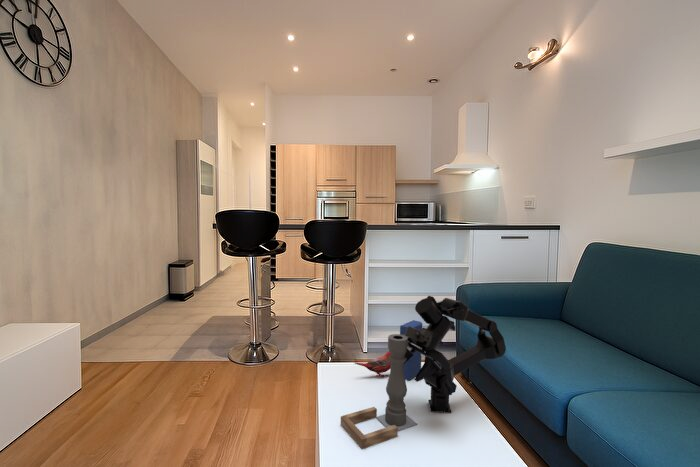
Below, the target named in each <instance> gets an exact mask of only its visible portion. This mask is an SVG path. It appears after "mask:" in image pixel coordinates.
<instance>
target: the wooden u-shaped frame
mask: <svg viewBox="0 0 700 467" xmlns="http://www.w3.org/2000/svg"><path fill="white" fill-rule="evenodd" d="M377 409H378V408H377V407H375V406H372V407H368V408H365V409H361V410H358V411H355V412H351V413H347V414H344V415H340V426H341V427H342V428H343V429H344V431H346V433H347V434H348V435H349V436H350V437H351V438H352V439H353V441H354V442H355V443H356V444H357V445H358V447H360V448H361V449H365V448H368V447H371V446H374V445H377V444H380V443H382V442H386V441H389V440H390V439H394V438H397V437H399V436H398V435H399V434H398V433H399V431H398V427H397V426H396V425H392V426H389V427H384V428H380V429H378V430H374V431H371V432H368V433H363V432H362V431H361V430H360V428H359V427H357V426H356V424H358V423H362V422H365V421H368V420H372V419H374V418H375V419H376V417H378V416H377V415H378V414H377V412H378V410H377Z"/></svg>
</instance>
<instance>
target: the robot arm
mask: <svg viewBox="0 0 700 467" xmlns="http://www.w3.org/2000/svg"><path fill="white" fill-rule="evenodd" d="M414 310H415V312H416V313H417V314H418V315H419V316H420V318H421V319H422V321H423V322H425V323H426V324H428V325H427V327H422V329H421V330H417V329H415V328H412V327H410V326H408V328H407V331H406V334H405V335H404V334H402V335H404V336H406V337H407V338H408V347H407V350H406V353H405V355H404V356H405V357H406V362H407V361H408V360H409V359H410V358H411V357H412V356H413V354H412V353H414V352H416V351H417V352H419V353H421V355H423V356H424V363H423V365H421V369H420V371H419V372H418V374H417V375H416V376H415V377H414V381H415V382H417V383H418V382H420V381H422V380H424V383H425V385H428V387H430V399H428V406H429V407H428V408H429V411H430V412H432V413H433V412H434V413H449V414H451V413H452V412H453V410H452V408H451V405H450V396H452V395H453V394H455V393H456V391H457V384H456V383H454V379H455V376H457V375H459V374H460V373H462V372H464V371H466V370H467V369H470V368H471V367H473V366H475V365H477V364H478V363H480V362H483V361H484V360H495V359H500V358H502V357H503V356H504V355H505V353H506V350H507V347H506V342H505V339H504V336H503V335H502V333H501V331H500V330H499V329H498V325H497V322H495V320H492V319H489V318H487V317H485V316H483V315H481V314H478V313H476V312H474V311H472V310H471V309H469V306H468V305H466V304H465V303H464V302H462V301H460V300H459V301H458V300H456V299H452V298H449V297H445V298H443V299H442V300H441V301H438V302H437V300H436V299H435V298H434V296H431V295H428V296H427V297H425V298H422V299H421V300H419V301H418V302H417V303H416V304H415V307H414ZM450 318H451V319H453V320H455V321H462V322H463V321H464V322H466V323H469V324H471V325H473V326H475V327H478V329H479V330H478V333H477V334H476V335H477V341H476V344H475V345H474V347H471V348H469V349H467V350H466V351H463V352H461V353H460V354H458V355H455V356H454V357H451V358H450V359H448V358H447V357H446V356H445V355H444V354H443V353H442V352H441V351H439V350H436V349H437V348H438V347H439V346H443V344H444V342H443V339H444V338H445V336H446V335H447V333H448V332H449V331H450V330H451V331H454V332H455V331H456V325H455V321H453V320H450ZM486 332H488V333H489V335H490V336H489V335H487V334H486ZM412 339H413V340H412ZM415 342H416V343H415ZM419 349H421V350H419ZM411 352H412V353H411ZM406 362H404V364H405V363H406Z"/></svg>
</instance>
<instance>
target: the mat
mask: <svg viewBox="0 0 700 467" xmlns="http://www.w3.org/2000/svg"><path fill="white" fill-rule="evenodd" d="M375 419H376V420H377V421H378V422H380V424H381V425H382V426H383V427H384V428H386V427H389V426H391V425H389V424H387V423H386V421H385V413H384V414H381V415H378V416H377V417H375ZM414 426H418V422H416V421H415V420H414V419H413V418H411V417H410V416H409V415H407V414H406V424H405V425H403V426H400V427H398V432H400V431H403V430H405V429H409V428H412V427H414Z"/></svg>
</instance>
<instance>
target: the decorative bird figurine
mask: <svg viewBox="0 0 700 467" xmlns="http://www.w3.org/2000/svg"><path fill="white" fill-rule="evenodd" d="M390 355H391V354H390V352H389V351H387V352H386V353H385V354H384V355H382V356H380V357H376V358H374V359H371V360H370V361H368V362H354V364H355V365H359V366H362V367H365V368H366V369H367V370H369V371H370V372H373V373H376V375H375V376H374V377H386V376H387V374H383V373H386V372H388V371H390V368H391V362H390V361H389V359H388V357H389V356H390Z"/></svg>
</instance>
